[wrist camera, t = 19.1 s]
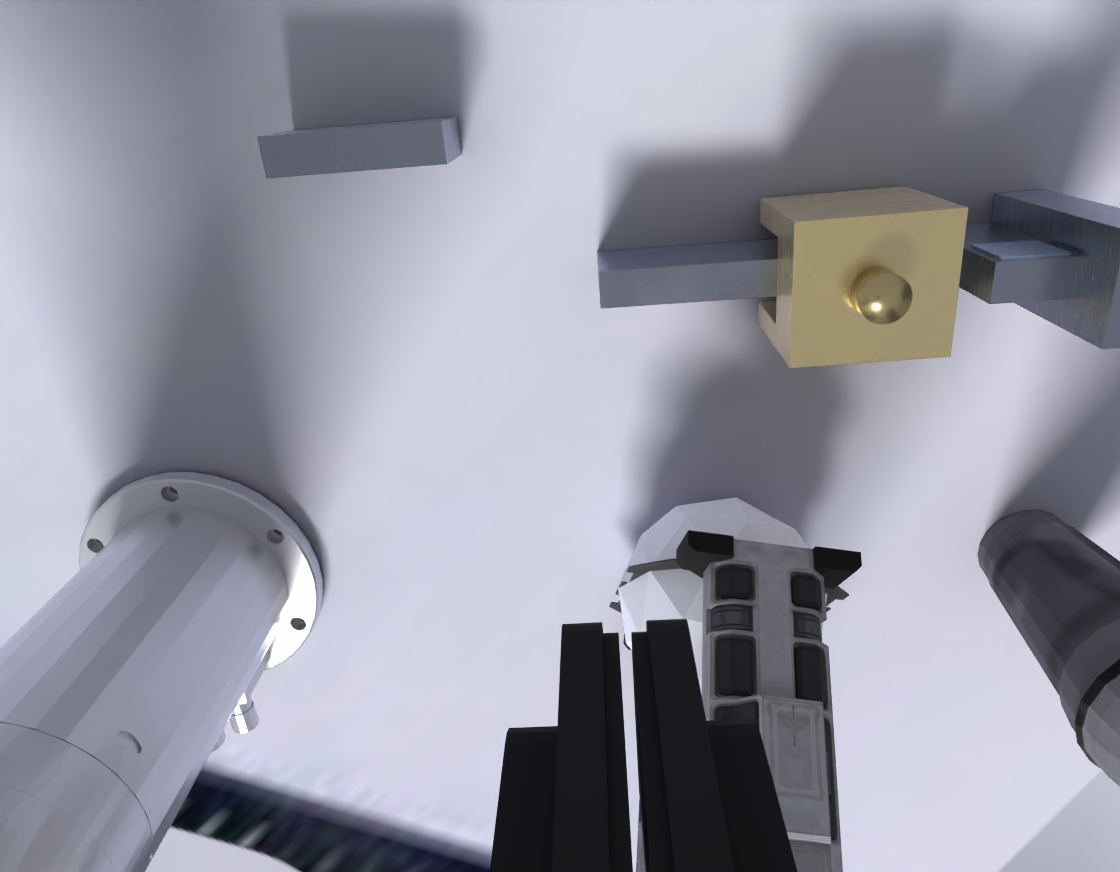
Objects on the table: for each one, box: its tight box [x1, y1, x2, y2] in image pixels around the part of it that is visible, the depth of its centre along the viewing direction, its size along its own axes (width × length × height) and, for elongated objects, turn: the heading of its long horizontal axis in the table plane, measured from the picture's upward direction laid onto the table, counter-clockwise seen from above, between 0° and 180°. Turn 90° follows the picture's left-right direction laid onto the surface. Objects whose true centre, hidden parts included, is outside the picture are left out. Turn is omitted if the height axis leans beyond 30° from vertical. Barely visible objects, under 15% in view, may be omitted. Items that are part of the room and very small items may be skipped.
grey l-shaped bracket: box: [597, 189, 1120, 349], centre depth 31 cm, size 4×19×9 cm, turn 94°
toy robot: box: [610, 497, 862, 872], centre depth 34 cm, size 18×10×22 cm
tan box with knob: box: [758, 186, 968, 368], centre depth 31 cm, size 6×6×7 cm
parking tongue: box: [258, 117, 462, 178], centre depth 32 cm, size 2×7×4 cm, turn 94°
